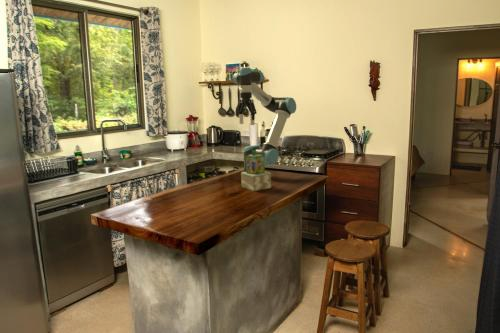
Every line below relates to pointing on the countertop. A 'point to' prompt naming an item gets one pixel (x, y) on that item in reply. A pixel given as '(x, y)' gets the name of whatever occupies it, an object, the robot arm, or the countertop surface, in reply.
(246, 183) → the crate
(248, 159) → the chalk box
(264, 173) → the lid
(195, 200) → the countertop surface
